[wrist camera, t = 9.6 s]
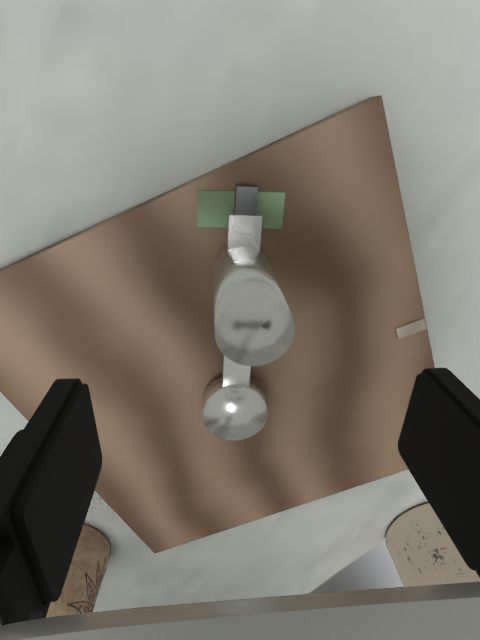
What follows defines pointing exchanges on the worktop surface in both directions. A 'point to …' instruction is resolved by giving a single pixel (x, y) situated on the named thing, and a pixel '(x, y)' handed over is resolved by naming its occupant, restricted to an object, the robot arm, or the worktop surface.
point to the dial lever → (244, 323)
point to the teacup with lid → (425, 550)
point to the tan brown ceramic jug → (83, 575)
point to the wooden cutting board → (199, 334)
